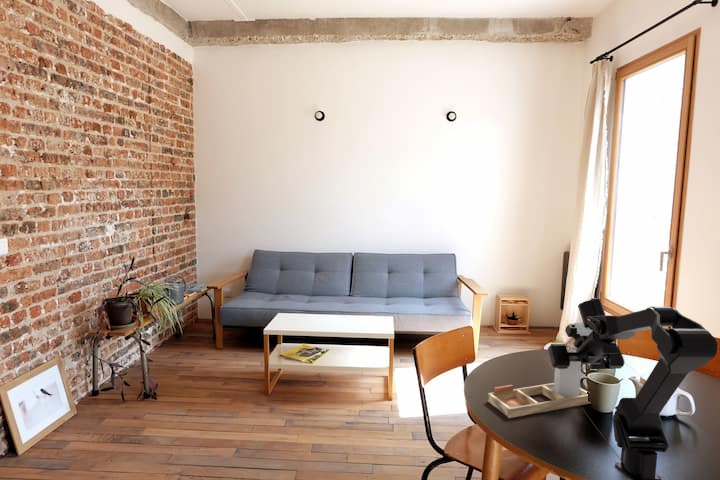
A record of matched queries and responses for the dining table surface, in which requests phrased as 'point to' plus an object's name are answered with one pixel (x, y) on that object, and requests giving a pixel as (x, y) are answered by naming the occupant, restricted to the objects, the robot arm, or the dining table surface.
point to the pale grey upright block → (568, 380)
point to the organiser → (532, 400)
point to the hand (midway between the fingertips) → (574, 367)
